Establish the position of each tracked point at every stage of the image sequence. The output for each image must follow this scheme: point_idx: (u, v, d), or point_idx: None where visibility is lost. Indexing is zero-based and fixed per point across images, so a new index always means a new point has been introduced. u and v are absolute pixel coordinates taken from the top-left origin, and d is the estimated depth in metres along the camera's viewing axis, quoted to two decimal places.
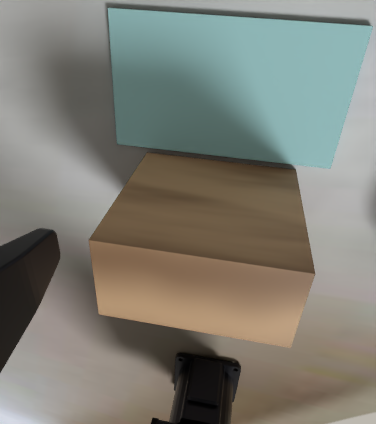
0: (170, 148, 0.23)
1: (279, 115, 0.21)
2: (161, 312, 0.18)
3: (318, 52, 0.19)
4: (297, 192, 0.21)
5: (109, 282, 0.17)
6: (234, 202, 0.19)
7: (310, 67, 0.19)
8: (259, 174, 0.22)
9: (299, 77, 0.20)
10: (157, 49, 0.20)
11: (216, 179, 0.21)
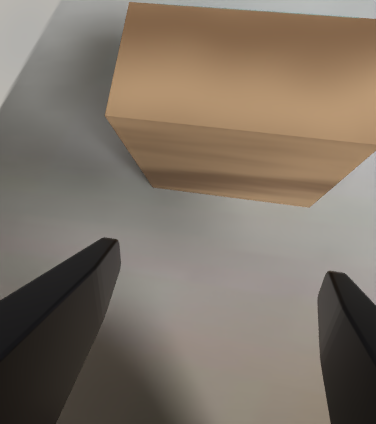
0: None
1: None
2: (198, 100, 0.13)
3: None
4: None
5: (137, 57, 0.14)
6: None
7: None
8: None
9: None
10: None
11: None
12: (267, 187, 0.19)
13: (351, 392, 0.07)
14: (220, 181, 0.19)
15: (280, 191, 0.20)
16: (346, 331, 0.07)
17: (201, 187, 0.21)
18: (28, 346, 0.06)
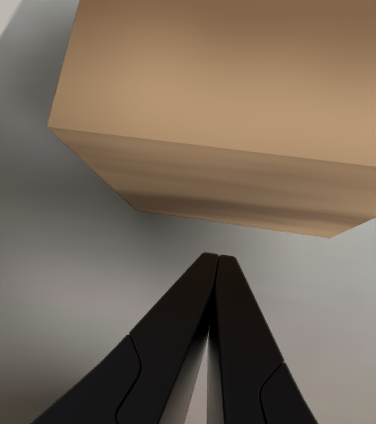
0: None
1: None
2: (183, 105, 0.09)
3: None
4: None
5: (97, 42, 0.09)
6: None
7: None
8: None
9: None
10: None
11: None
12: (279, 217, 0.15)
13: (212, 366, 0.07)
14: (217, 208, 0.15)
15: (295, 222, 0.15)
16: (214, 309, 0.07)
17: (194, 213, 0.17)
18: (180, 375, 0.06)
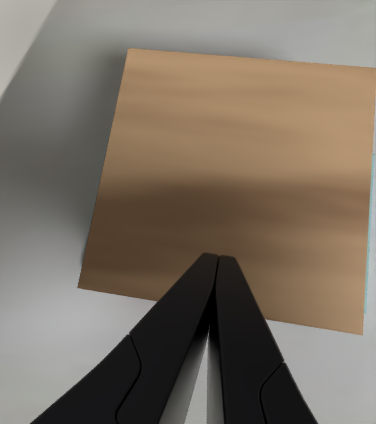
0: None
1: None
2: None
3: None
4: None
5: None
6: None
7: None
8: None
9: None
10: None
11: None
12: (281, 226, 0.13)
13: (212, 366, 0.07)
14: (209, 218, 0.13)
15: (301, 245, 0.13)
16: (214, 309, 0.07)
17: (172, 259, 0.13)
18: (180, 375, 0.06)
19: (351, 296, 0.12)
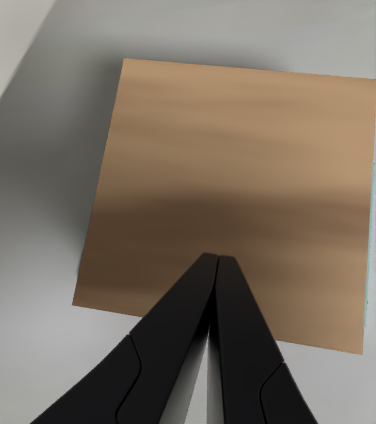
0: None
1: None
2: None
3: None
4: None
5: None
6: None
7: None
8: None
9: None
10: None
11: None
12: (279, 242, 0.12)
13: (212, 366, 0.07)
14: (206, 234, 0.13)
15: (300, 262, 0.12)
16: (214, 309, 0.07)
17: (168, 276, 0.13)
18: (181, 375, 0.06)
19: (351, 314, 0.12)
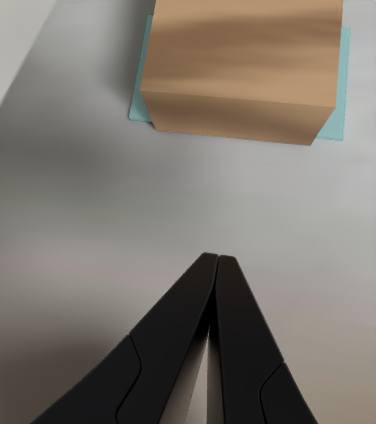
0: None
1: None
2: None
3: None
4: None
5: None
6: None
7: None
8: None
9: None
10: None
11: None
12: (280, 44, 0.18)
13: (212, 366, 0.07)
14: (230, 42, 0.19)
15: (294, 55, 0.18)
16: (214, 309, 0.07)
17: (205, 68, 0.18)
18: (181, 375, 0.06)
19: (328, 84, 0.18)
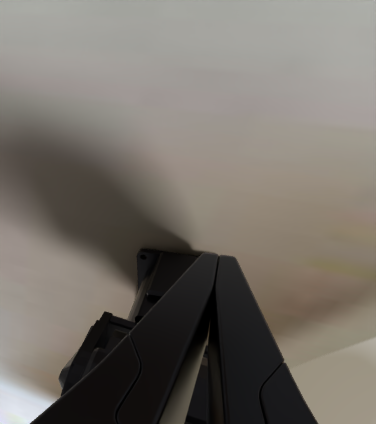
0: None
1: None
2: None
3: None
4: None
5: None
6: None
7: None
8: None
9: None
10: None
11: None
12: None
13: (212, 366, 0.07)
14: None
15: None
16: (214, 309, 0.07)
17: None
18: (180, 375, 0.06)
19: None
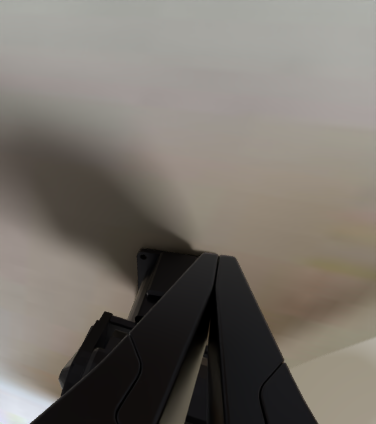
0: None
1: None
2: None
3: None
4: None
5: None
6: None
7: None
8: None
9: None
10: None
11: None
12: None
13: (212, 366, 0.07)
14: None
15: None
16: (214, 309, 0.07)
17: None
18: (181, 375, 0.06)
19: None
